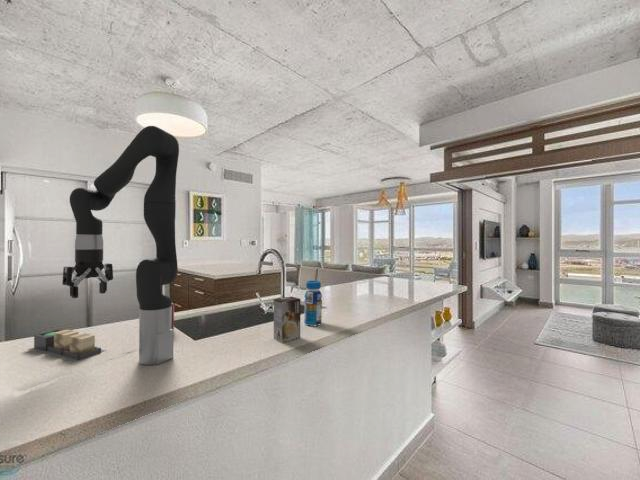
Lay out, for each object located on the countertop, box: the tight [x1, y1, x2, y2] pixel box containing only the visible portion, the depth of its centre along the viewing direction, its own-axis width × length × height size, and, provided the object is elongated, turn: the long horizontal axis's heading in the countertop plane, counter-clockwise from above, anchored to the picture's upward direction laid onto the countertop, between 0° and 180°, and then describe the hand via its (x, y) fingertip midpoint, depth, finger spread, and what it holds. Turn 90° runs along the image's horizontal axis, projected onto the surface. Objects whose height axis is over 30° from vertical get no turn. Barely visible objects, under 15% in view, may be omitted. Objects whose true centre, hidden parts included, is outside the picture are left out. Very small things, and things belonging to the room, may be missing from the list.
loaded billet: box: [54, 329, 79, 350], centre depth 99 cm, size 6×4×6 cm, turn 68°
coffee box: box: [273, 296, 301, 343], centre depth 116 cm, size 9×6×16 cm
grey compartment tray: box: [27, 328, 107, 363], centre depth 99 cm, size 25×10×6 cm, turn 68°
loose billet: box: [70, 332, 96, 354], centre depth 96 cm, size 6×4×6 cm, turn 68°
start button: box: [44, 332, 55, 337], centre depth 102 cm, size 4×4×3 cm
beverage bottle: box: [303, 280, 323, 327], centre depth 136 cm, size 8×8×20 cm
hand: (89, 295), depth 98 cm, fingers open, 8 cm apart
